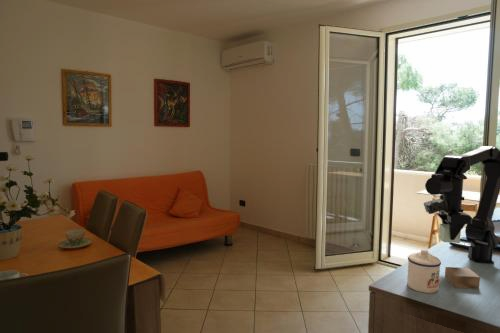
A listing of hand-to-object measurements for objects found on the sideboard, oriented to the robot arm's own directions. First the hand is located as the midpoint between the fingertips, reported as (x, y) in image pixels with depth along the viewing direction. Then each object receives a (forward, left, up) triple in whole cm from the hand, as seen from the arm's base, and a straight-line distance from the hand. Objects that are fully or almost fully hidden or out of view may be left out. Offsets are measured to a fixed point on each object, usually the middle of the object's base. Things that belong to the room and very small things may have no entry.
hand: (449, 237), depth 122 cm
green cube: (0, 0, -1) cm, 1 cm away
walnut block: (0, +12, -11) cm, 16 cm away
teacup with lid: (+12, +16, -11) cm, 23 cm away
